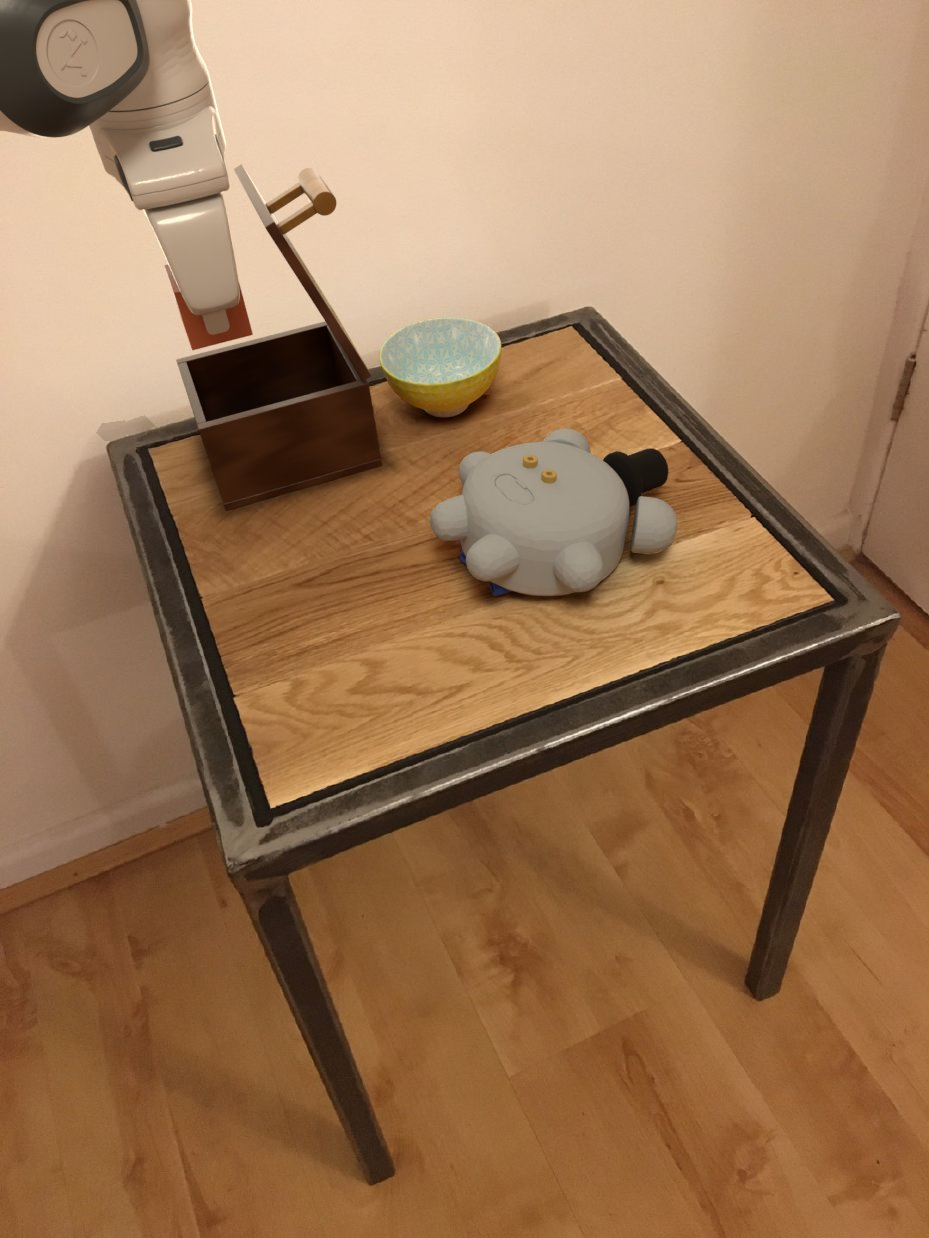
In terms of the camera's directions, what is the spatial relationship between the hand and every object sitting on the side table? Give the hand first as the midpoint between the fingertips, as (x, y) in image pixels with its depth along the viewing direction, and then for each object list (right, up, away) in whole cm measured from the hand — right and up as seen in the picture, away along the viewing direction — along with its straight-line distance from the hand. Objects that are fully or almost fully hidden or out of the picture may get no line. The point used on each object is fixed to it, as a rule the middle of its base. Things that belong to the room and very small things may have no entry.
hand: (211, 311), depth 78 cm
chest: (+4, -9, +12) cm, 16 cm away
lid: (+7, +3, +1) cm, 8 cm away
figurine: (+28, -19, +2) cm, 34 cm away
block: (0, -1, +1) cm, 2 cm away
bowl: (+19, -4, +16) cm, 25 cm away
